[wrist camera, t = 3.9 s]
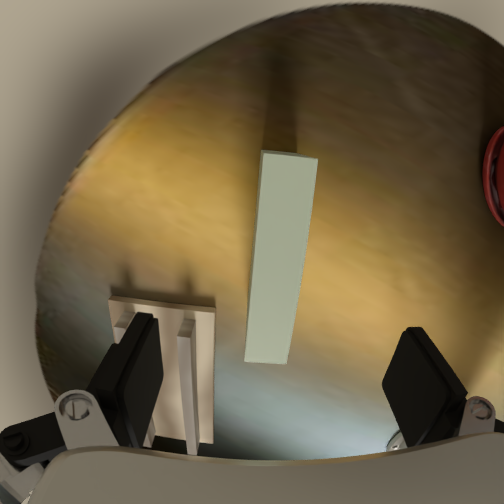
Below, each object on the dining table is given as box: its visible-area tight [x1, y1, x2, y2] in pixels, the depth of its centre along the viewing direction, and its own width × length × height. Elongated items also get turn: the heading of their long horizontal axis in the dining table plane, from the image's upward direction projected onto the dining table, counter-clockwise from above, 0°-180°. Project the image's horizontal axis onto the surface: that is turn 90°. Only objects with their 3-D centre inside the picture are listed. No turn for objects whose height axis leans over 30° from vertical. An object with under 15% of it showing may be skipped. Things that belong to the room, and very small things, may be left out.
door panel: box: [244, 150, 318, 364], centre depth 23 cm, size 3×14×9 cm, turn 175°
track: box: [108, 295, 216, 455], centre depth 32 cm, size 11×22×4 cm, turn 175°
